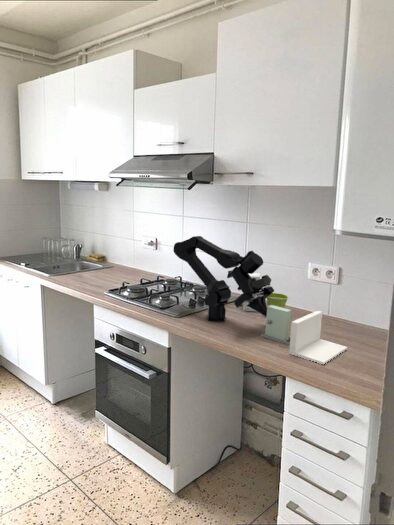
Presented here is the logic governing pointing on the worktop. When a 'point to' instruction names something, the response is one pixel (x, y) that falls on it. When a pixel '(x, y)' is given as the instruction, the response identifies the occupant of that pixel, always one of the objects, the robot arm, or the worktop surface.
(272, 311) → the door
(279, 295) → the plant pot
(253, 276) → the skincare box
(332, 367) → the worktop surface
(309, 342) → the white l-shaped stand
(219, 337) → the worktop surface
